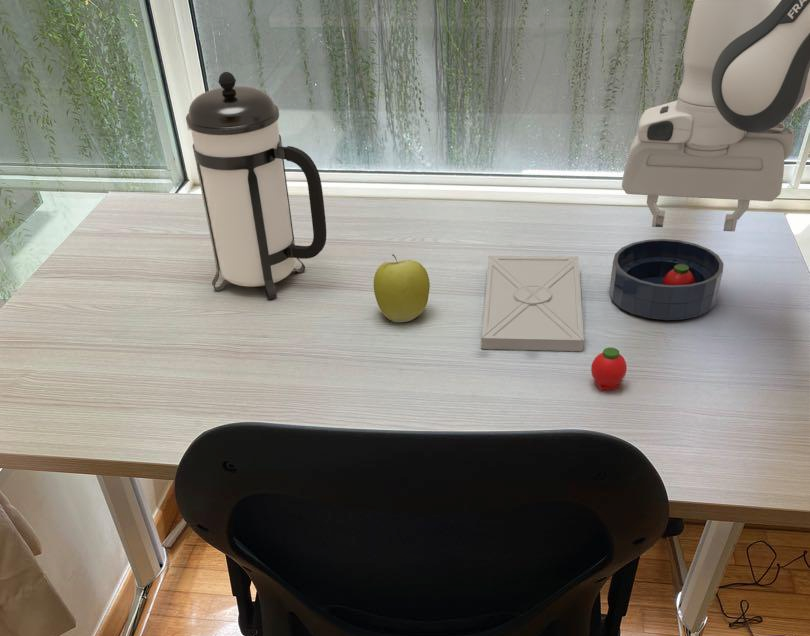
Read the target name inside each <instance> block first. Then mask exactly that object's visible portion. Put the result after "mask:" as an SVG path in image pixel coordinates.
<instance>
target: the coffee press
mask: <svg viewBox="0 0 810 636" xmlns="http://www.w3.org/2000/svg"><path fill="white" fill-rule="evenodd" d="M217 82H218V84H219V86H220V87H218V88H217V87H216V88H213V89H211V90H210V89H209V90H208V91H204V92H203V93H201V94H199V95H197V96H196V97H195V98H194V99H193V101H192V102H191V103H190V105H189V108H188V113H187V114H186V116H185V121H186V122H185V123H186V125H187V126H186V127H187V130H188V131H190V133H191V137H192V142H193V143H192V150H193V156H194V160H195V165H196V171H197V175H198V181H199V187H200V191H201V197H202V200H203V201H202V202H203V206H204V212H205V214H206V215H205V216H206V221H207V226H208V231H209V237H210V241H211V247H212V251H213V256H214V262H215V268H216V269H215V271H216V272H215V274H214V277H213V279H212V281H211V285H212V287H213V289H214V290H215V291H216V292H222V290H224V289H225V287H226V286H227V285H228V284H229V283H231V284H233V285H237V286H240V287H241V286H242V287H249V288H250V287H253V288H254V287H263V290H264V293H265V296H266V299H267V300H272V299H273V300H274V299H276V298H278V293H277V290H276V286H275V283H278V282H280V281H282V280H284V279H285V278H286V277H288V276H290V274H292V272H293V271H295V272H297V273H298V274H302V273H303V272H305V271H306V266H305V264H304V263H303V262H302V260H303V259H306V260H307V259H312V258H315V257H317V256H318V255H319V254H320V253H321V252H322V251H323V249H324V248H325V246H326V242H327V221H326V210H325V201H324V192H323V187H322V186H323V185H322V180H321V175H320V173H319V170H318V168H317V165H316V163H315V162H314V160H313V159H312V158H311V156H310V155H308V153H306V152H305V151H303V150H302V149H300V148H298V147H295V146H291V145H287V146H283V142H282V141H283V140H282V136H281V134H280V131H279V122H278V121H279V118H280V109H279V107H278V105H276V104H275V103H274V101H273V99H272V97H271V96H270V95H269V94H268V93H266V92H265V91H263V90H261V89H259V88H255V87H251V86H242V85H236V82H237V79H236V78H235V75H233V74H232V73H231V72H229V71H224V72H222V73H220V75H219V77H218V81H217ZM285 160H286V161H287V162H291V163H294V164H295V165H297V166H298V167H299V169H301V171H302V172H303V174H304V176H305V180H306V183H307V189H308V199H309V205H310V206H309V207H310V216H311V223H312V224H311V225H312V232H313V236H312V242H311V243H310V245H299V244H297V245H296V243H295V236H294V228H293V221H292V220H293V219H292V214H291V205H290V198H289V197H290V196H289V190H288V189H289V188H288V183H287V175H286V174H287V173H286V166H285ZM296 260H298V262H299V263H300V264H301V265H300V267H299V268H296ZM220 275H221V277H222V278H223V281H222V282H221V284H219V286H216V284H217V282H218V280H219V278H220Z"/></svg>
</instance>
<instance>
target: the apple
mask: <svg viewBox="0 0 810 636" xmlns="http://www.w3.org/2000/svg"><path fill="white" fill-rule="evenodd" d="M392 256H393V257H394V259H395V260H396V261H385V262H383V263H382V264H380V265H379V266H378V268H376V271H375V273H374V277H373V293H374V297H375V300H376V304H377V306H378V308H379V311H380V312H381V314H382V315H384V317H386V318H387V319H388V320H390V321H392V322H393V323H406V322H407V323H408V322H410V321H413V320H414V319H416V318H417V317H418V316H420V315H421V314H422V313H423V312H424V311H425V309H426V307H427V305H428V302H429V295H430V287H431V286H430V284H431V283H430V282H431V281H430V278H429V273H428V272H427V269H426V268H425V267H424V266H423V265H422V263H420V262H419V261H417V260H414V259H407V260H400V261H397V257H396V255H394V254H392Z"/></svg>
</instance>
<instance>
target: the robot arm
mask: <svg viewBox="0 0 810 636" xmlns="http://www.w3.org/2000/svg"><path fill="white" fill-rule="evenodd" d="M689 16H690V17H689V21H688V27H687V31H686V36H685V42H684V43H685V44H684V49H683V56H682V57H683V68H684V71H683V72H684V73H683V79H682V82H681V84H680V87H679V89H678V92H677V99H676V100H674V101H669V102H667V103H664V104H660V105H656V106H653V107H649V108H647V109H645V110H644V112H643V113H642V114H641V115H640V118H639V121H638V126H637V134H636V135H634V136H635V137H634V138H633V140H632V143H631V145H630V149H629V151H628V154H627V157H626V161H625V166H624V170H623V174H622V181H621V188H622V190H623V191H624V193H625V194H626V195H632V196H633V195H635V196H646V204H647V207H648V209H649V210H650V213H651V215H652V222H651V227H652V228H664V222H665V215H666V210H660V209H659V206H658V200H659V197H675V198H678V197H679V198H692V199H693V198H695V199H696V198H697V199H714V200H715V199H716V200H733V201H734V200H736V201H737V208H735V210H734V211H733V213H727V214H726V213H725V218H724V222H723V223H724V224H723V230H722V231H723V232H731V233H732V232H735V231H736V227H737V223H738V220H740V219H741V217H742V216H743V215H744V214H745V213H746V212H747V210H748V209H749V206H750V202H751V201H753V202H773V201H774V200H776V199H777V198H778V197H779V196H780V195H781V193H782V188H783V181H784V173H785V160H787V159H788V158H789V157H790V156H791V154H792V153H793V150H794V144H795V142H796V141H795V140H796V134H795V132H794V131H793V129H792V128H791V127H789V126H786V123H784V122H783V121H785V119H787V118H788V117H789V116H790V115H791V114H792V113H793V112H794V111H796V110H797V109H798V108H799V107H801V106H802V105H804V104H805V103H806V102H809V100H810V0H694V1H693V4H692V9H691V13H690V15H689Z"/></svg>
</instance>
